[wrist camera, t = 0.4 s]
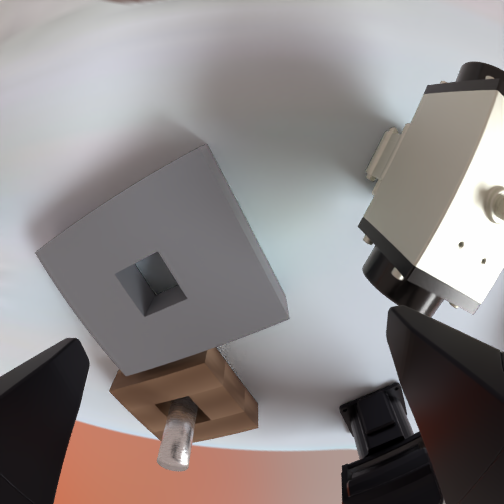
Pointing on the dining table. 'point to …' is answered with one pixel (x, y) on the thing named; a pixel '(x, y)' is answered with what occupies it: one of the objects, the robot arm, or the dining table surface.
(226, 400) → the walnut mount
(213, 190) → the socket plate
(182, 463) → the steel pin
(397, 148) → the pneumatic valve
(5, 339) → the dining table surface
